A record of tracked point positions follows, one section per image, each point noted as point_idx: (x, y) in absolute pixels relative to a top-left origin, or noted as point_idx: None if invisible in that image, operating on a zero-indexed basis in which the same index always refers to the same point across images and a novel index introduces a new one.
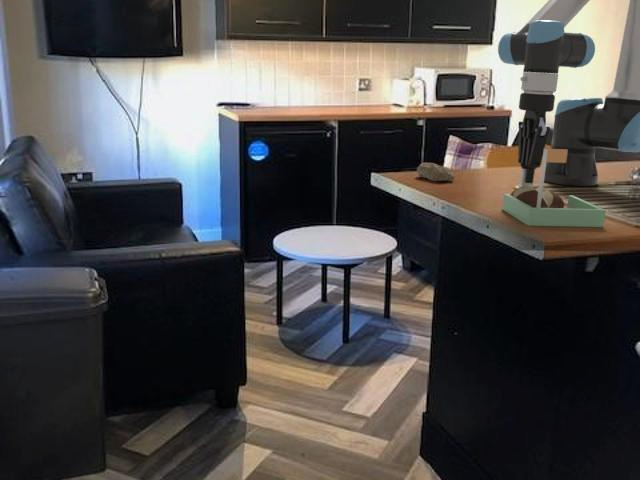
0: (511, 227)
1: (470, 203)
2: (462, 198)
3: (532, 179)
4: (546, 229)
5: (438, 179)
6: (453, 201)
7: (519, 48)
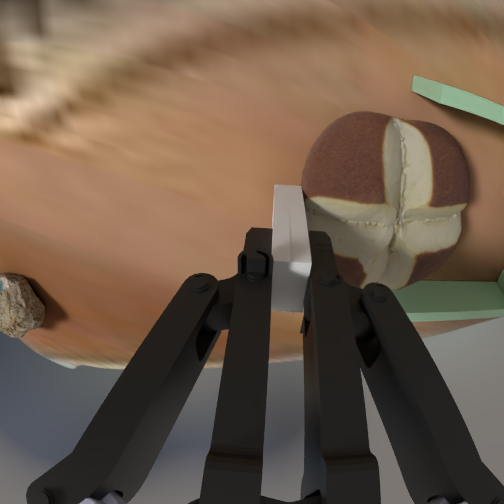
0: None
1: (287, 329)
2: None
3: (330, 245)
4: None
5: (44, 310)
6: None
7: None
